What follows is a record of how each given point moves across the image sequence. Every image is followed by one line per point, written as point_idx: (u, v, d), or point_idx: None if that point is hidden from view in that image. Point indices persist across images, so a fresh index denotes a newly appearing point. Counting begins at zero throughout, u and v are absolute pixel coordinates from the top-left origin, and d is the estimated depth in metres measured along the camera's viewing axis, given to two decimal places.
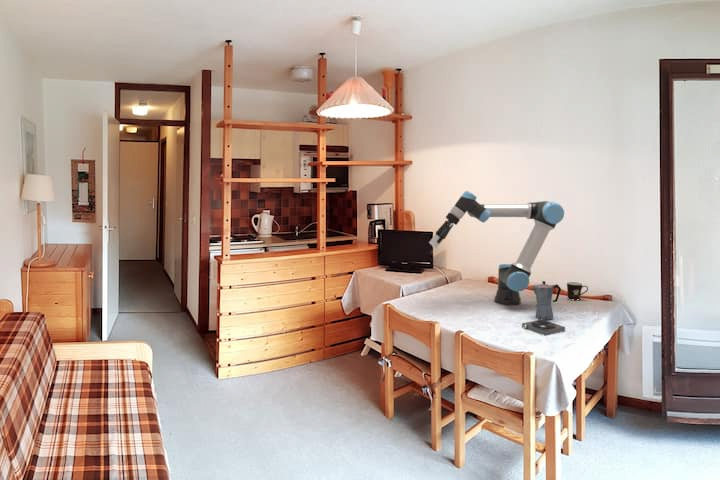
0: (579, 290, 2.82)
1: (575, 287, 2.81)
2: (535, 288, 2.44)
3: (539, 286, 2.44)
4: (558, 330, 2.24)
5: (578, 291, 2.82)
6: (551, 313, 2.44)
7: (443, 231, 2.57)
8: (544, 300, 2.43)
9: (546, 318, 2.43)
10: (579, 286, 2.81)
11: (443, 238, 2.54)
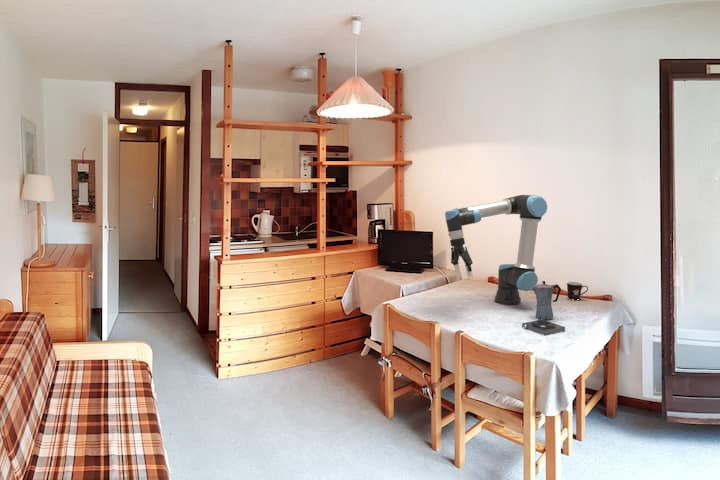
0: (579, 290, 2.82)
1: (575, 287, 2.81)
2: (535, 288, 2.44)
3: (539, 286, 2.44)
4: (558, 330, 2.24)
5: (578, 291, 2.82)
6: (551, 313, 2.44)
7: (464, 258, 2.44)
8: (544, 300, 2.43)
9: (546, 318, 2.43)
10: (579, 286, 2.81)
11: None
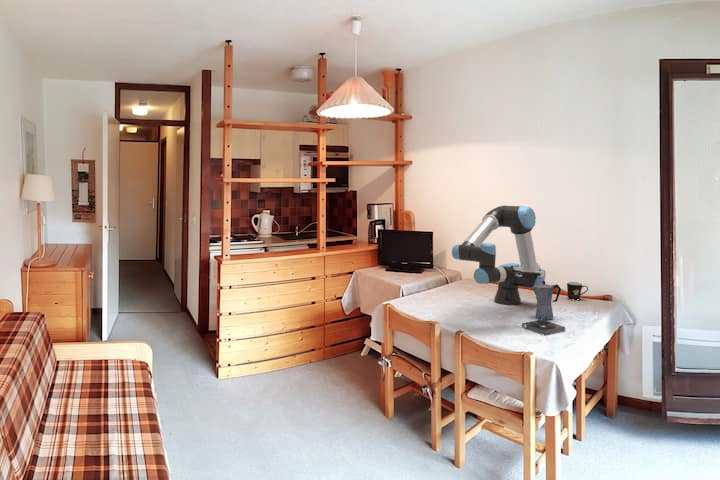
0: (579, 290, 2.82)
1: (575, 287, 2.81)
2: (535, 288, 2.44)
3: (539, 286, 2.44)
4: (558, 330, 2.24)
5: (578, 291, 2.82)
6: (551, 313, 2.44)
7: None
8: (544, 300, 2.43)
9: (546, 318, 2.43)
10: (579, 286, 2.81)
11: None
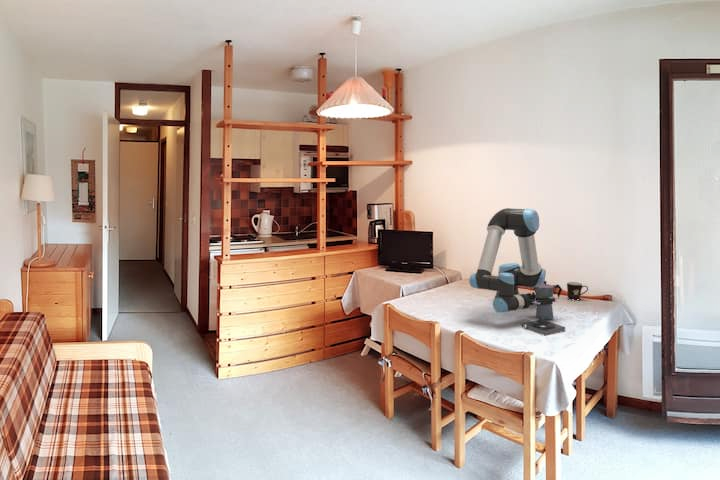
0: (579, 290, 2.82)
1: (575, 287, 2.81)
2: (536, 288, 2.44)
3: (540, 286, 2.43)
4: (558, 330, 2.24)
5: (578, 291, 2.82)
6: (551, 313, 2.44)
7: None
8: None
9: (546, 318, 2.43)
10: (579, 286, 2.81)
11: None
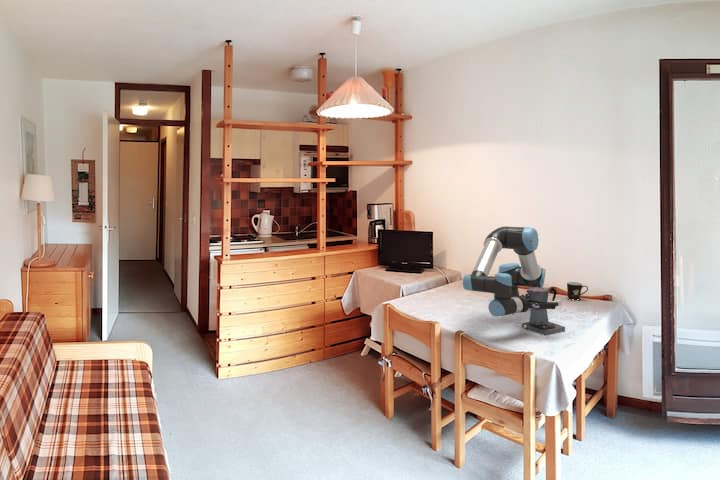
0: (579, 290, 2.82)
1: (575, 287, 2.81)
2: (530, 291, 2.27)
3: (534, 289, 2.26)
4: (558, 330, 2.24)
5: (578, 291, 2.82)
6: (546, 318, 2.27)
7: None
8: None
9: (541, 324, 2.26)
10: (579, 286, 2.81)
11: (555, 304, 2.17)
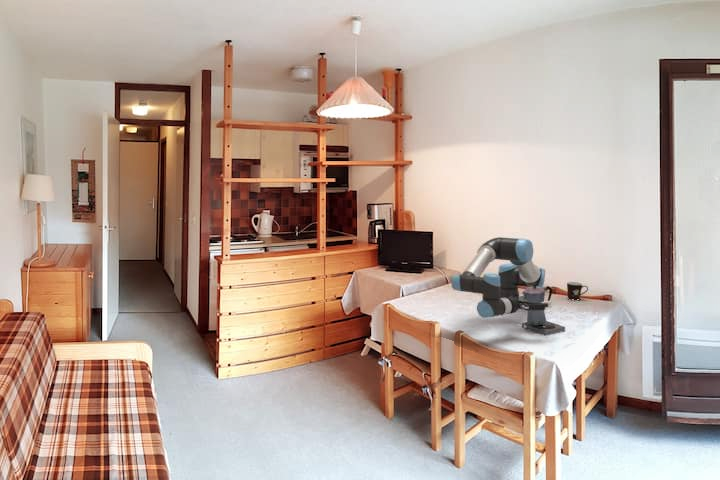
0: (579, 290, 2.82)
1: (575, 287, 2.81)
2: (526, 294, 2.24)
3: (530, 291, 2.23)
4: (558, 330, 2.24)
5: (578, 291, 2.82)
6: (544, 317, 2.27)
7: None
8: None
9: (539, 323, 2.26)
10: (579, 286, 2.81)
11: (544, 305, 2.13)
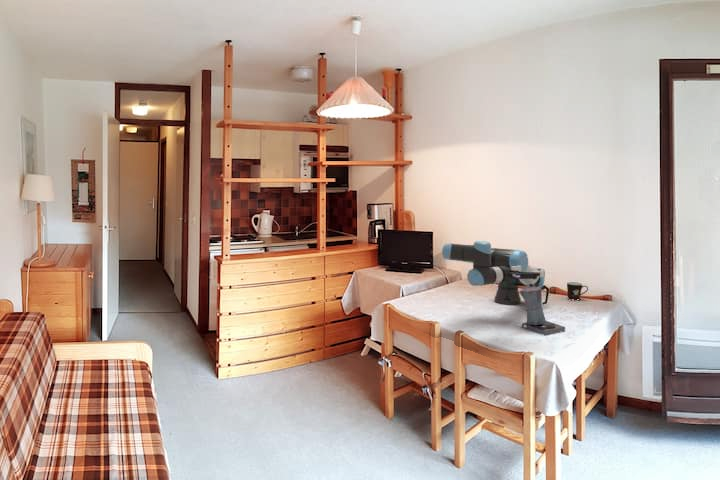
0: (579, 290, 2.82)
1: (575, 287, 2.81)
2: (523, 292, 2.27)
3: (527, 290, 2.27)
4: (558, 330, 2.24)
5: (578, 291, 2.82)
6: (543, 317, 2.27)
7: None
8: (534, 304, 2.26)
9: (539, 323, 2.26)
10: (579, 286, 2.81)
11: (536, 274, 2.09)
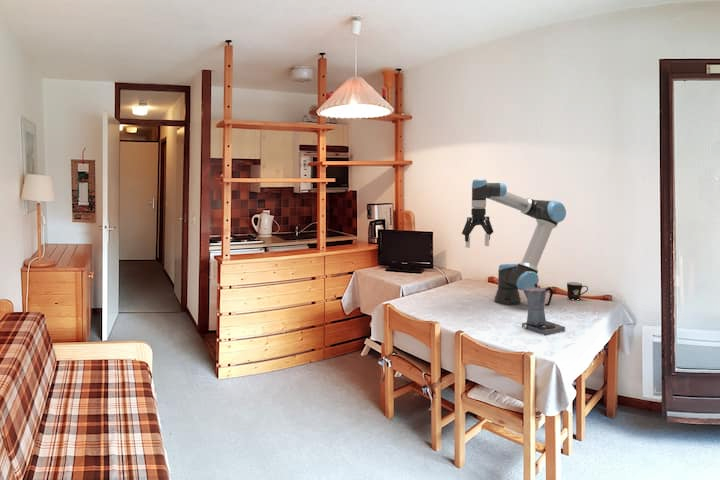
0: (579, 290, 2.82)
1: (575, 287, 2.81)
2: (527, 291, 2.27)
3: (531, 289, 2.27)
4: (558, 330, 2.24)
5: (578, 291, 2.82)
6: (544, 318, 2.27)
7: None
8: (537, 305, 2.25)
9: (539, 324, 2.26)
10: (579, 286, 2.81)
11: (465, 234, 2.49)
